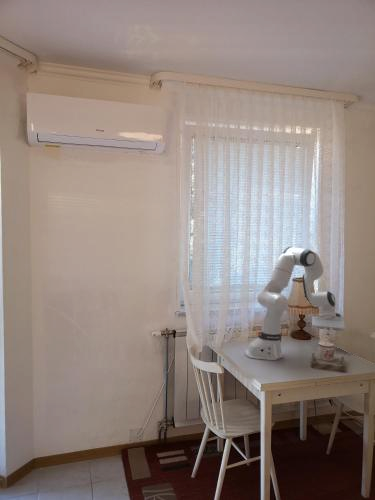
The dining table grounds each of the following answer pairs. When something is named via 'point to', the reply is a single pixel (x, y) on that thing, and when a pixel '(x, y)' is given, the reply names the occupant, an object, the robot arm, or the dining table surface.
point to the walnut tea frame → (328, 365)
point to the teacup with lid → (326, 350)
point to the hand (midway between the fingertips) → (328, 334)
